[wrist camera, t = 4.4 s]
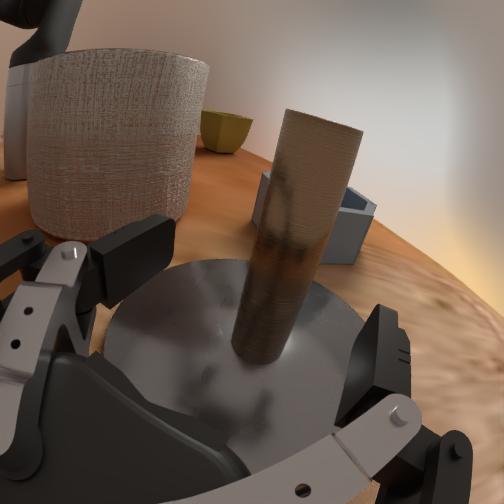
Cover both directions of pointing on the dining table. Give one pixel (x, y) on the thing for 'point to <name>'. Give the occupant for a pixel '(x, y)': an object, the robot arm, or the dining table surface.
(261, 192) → the bowl
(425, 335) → the dining table surface
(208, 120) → the flower pot
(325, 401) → the spindle on round base
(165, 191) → the planter
